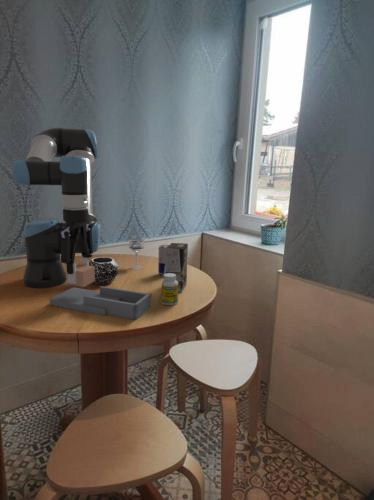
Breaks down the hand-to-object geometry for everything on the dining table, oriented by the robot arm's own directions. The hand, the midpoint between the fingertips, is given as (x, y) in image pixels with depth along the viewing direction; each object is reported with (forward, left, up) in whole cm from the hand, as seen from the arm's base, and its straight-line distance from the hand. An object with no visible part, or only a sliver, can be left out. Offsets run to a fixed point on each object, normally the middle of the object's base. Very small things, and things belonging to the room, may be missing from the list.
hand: (79, 279), depth 114 cm
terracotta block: (+1, 0, -1) cm, 1 cm away
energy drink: (+14, +38, -8) cm, 41 cm away
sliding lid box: (+8, 0, -7) cm, 11 cm away
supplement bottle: (+27, +11, -8) cm, 30 cm away
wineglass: (-1, +42, -8) cm, 42 cm away
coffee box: (+24, +25, -8) cm, 35 cm away
